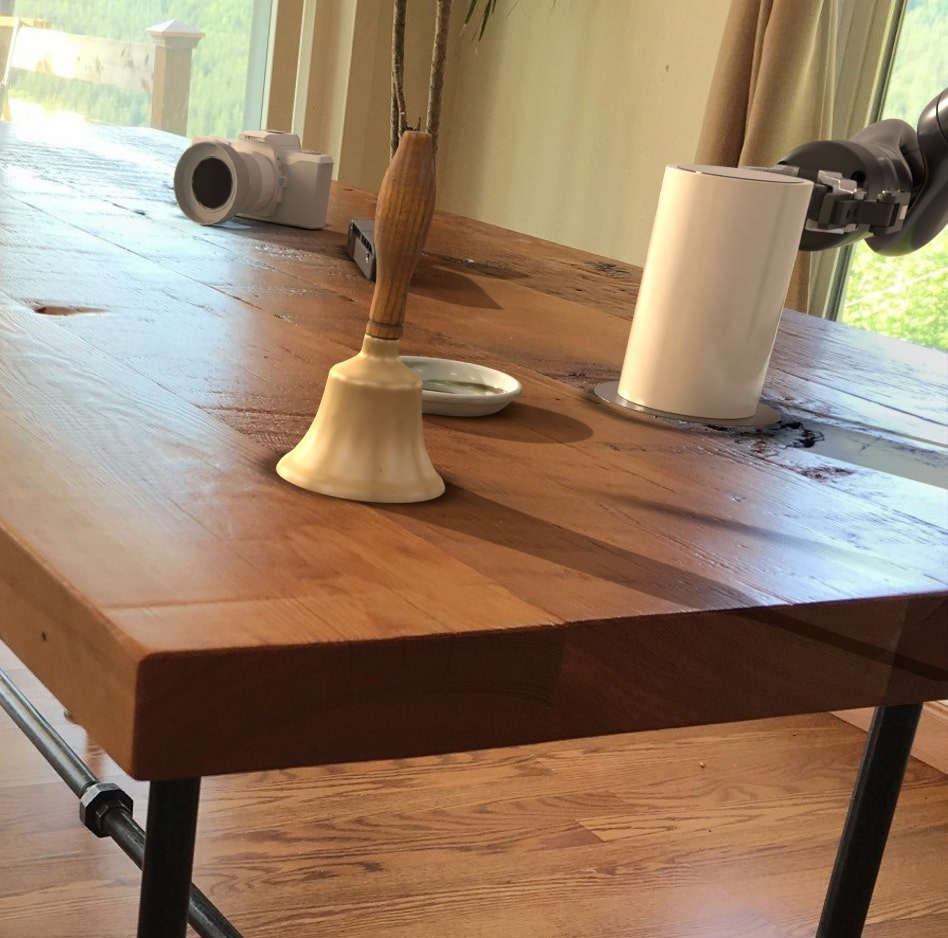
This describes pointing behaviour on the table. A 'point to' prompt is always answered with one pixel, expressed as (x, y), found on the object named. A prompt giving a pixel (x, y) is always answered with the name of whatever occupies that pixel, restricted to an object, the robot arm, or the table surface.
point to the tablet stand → (363, 246)
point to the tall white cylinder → (713, 289)
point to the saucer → (462, 387)
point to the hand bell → (379, 364)
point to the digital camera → (253, 180)
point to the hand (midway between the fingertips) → (761, 202)
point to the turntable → (611, 395)
